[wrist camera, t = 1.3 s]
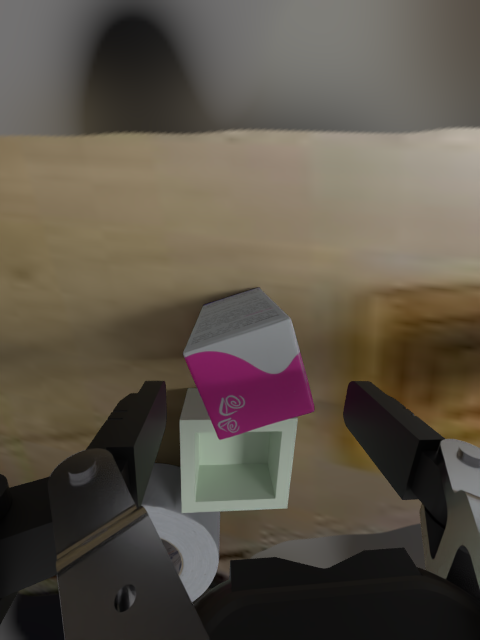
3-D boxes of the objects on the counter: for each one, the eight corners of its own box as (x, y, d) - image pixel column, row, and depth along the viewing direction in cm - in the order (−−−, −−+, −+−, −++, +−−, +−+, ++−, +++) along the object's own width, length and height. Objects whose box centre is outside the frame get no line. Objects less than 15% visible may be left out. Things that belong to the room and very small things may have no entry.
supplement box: (200, 305, 22) (178, 350, 11) (259, 285, 22) (297, 311, 11) (219, 358, 24) (218, 445, 13) (275, 340, 24) (323, 411, 13)
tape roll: (60, 512, 27) (24, 567, 22) (159, 437, 26) (144, 479, 21) (153, 576, 31) (140, 636, 26) (244, 514, 29) (249, 565, 25)
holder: (283, 388, 25) (297, 418, 20) (275, 464, 28) (286, 508, 23) (187, 388, 24) (179, 420, 19) (188, 467, 27) (181, 512, 22)
